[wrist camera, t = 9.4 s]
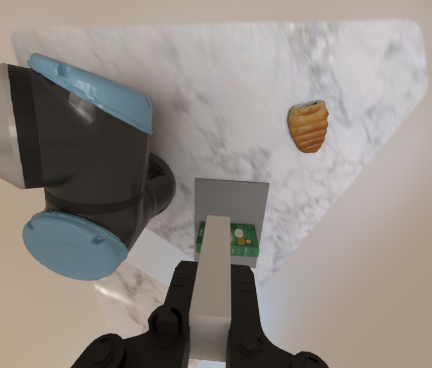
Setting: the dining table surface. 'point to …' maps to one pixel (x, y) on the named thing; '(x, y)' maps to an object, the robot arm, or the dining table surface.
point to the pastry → (308, 125)
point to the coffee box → (236, 240)
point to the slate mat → (231, 207)
